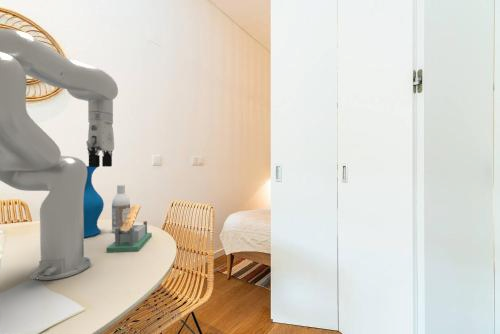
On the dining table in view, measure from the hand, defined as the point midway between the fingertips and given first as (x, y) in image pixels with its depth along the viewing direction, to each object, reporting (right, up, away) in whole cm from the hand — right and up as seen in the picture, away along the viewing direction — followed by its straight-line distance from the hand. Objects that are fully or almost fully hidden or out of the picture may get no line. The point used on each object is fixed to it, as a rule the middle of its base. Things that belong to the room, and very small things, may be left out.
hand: (101, 166), depth 87 cm
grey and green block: (+10, -28, +2) cm, 30 cm away
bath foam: (-2, -28, +17) cm, 33 cm away
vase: (-13, -28, +12) cm, 33 cm away
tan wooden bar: (+10, -20, +1) cm, 22 cm away
